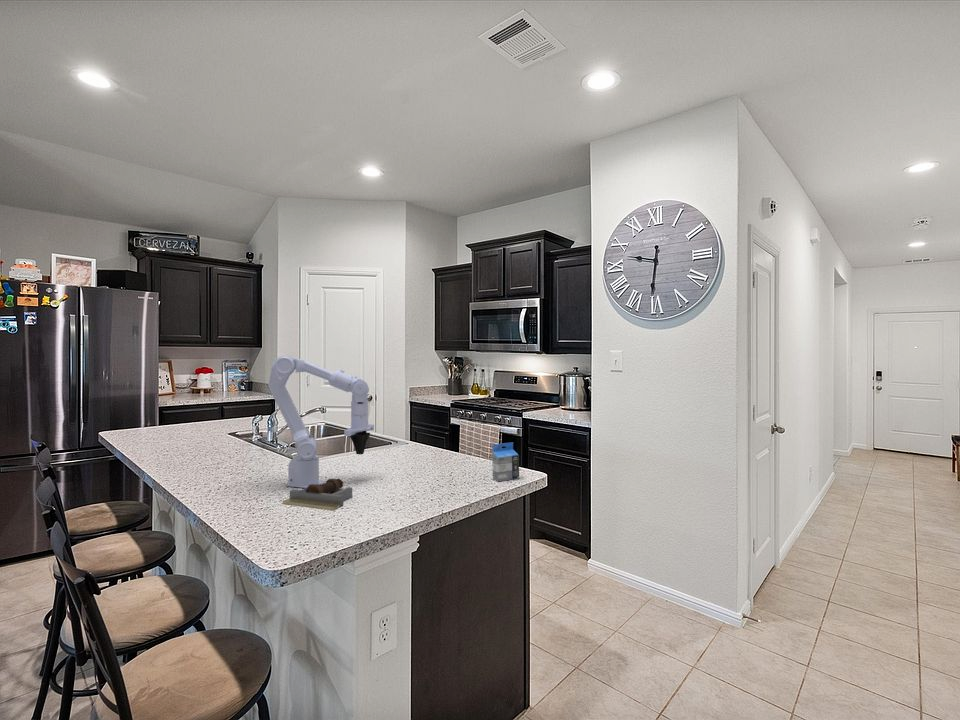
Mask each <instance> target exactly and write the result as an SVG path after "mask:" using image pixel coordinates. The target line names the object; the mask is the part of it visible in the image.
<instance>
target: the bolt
mask: <svg viewBox="0 0 960 720" xmlns="http://www.w3.org/2000/svg"><path fill="white" fill-rule="evenodd" d="M343 487H344V480H342V479H341V478H328V479H327V480H326V481H325V483H323V484H321V485H317V484H310V485H309V486H308V487H307V489H306V491H310V492H318V493H327V494H333V493H335V492H338V491H340V490H341V489H343Z"/></svg>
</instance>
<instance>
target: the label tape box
mask: <svg viewBox="0 0 960 720" xmlns="http://www.w3.org/2000/svg"><path fill="white" fill-rule="evenodd" d="M491 453H492V454H491V457H492V458H491V459H492V460H491V461H492V480H493V479H494V480H493V481H495V480H496V482H498V481H500V482H504V481H510V480H515V479H517V480H518V479H520V455H519V454H518V452H516V451H515V449H514V442H504V443H496V444H492V452H491Z"/></svg>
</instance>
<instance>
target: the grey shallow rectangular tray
mask: <svg viewBox="0 0 960 720" xmlns="http://www.w3.org/2000/svg"><path fill="white" fill-rule="evenodd" d="M317 485H322V484H317ZM306 489H307V488H303V489H302V488H301V489H291V490H289V498H287V499H283V500H282V501H281V502H282V504H283V505H289V506H298V507H299V506H300V507H305V508H313V509H321V510H329V511H335V510H338V509H340V508H342V507H344V502H345V501H347V500H349V499H352V498H353V487H349V486H347V487H345V488H341V489H339V490H338V492H335V493H328V494H327V493H318V492H310V491H306Z"/></svg>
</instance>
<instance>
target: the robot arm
mask: <svg viewBox="0 0 960 720" xmlns="http://www.w3.org/2000/svg"><path fill="white" fill-rule="evenodd" d="M294 371H295V373H297V374H298V373H307V374H310V375H313V376H316V377H318V378H321V379H324V380H327V381H328V384H329V385H330V386H331V387H333V388H335V389H337V390H341V391H343V392H346V393H351V401H350V413H351V415H350V416H351V417H350V418H351V419H350V420H351V421H350V426H351V427H349V428H346V429H344V431H343V432H344V433H343V434H344V437H349V438H350V440H351V441H352V444H353V446H354V450H355V453H356V455H364V454H365V449H366V445H367V442H368V440H369V438H370V436H371V432H369V431H374V430H375V424H369V401H368V399H369V396H368V394H369V392H370V388H369V385H368V383H367V382H366V381H364V380H363V379H361V378H358V376H357V375H354V376H353V375H350V374H348V373H346V372H345V370H343V369H340V370H338V369H336V370H333V371H330V370H328V369H326V368H324V367H321V366H318V365H317V364H315V363H312V362H310V361H308V360H305V359H301V358H298V357H297V358H296V357H292V356H291V355H280V356H278V357H276V359H275V360H274V361H273V364H272V365H271V367H270V375H269V381H268V389H269V390H270V393H271V395H272V397H273V399H274V401H275V403H276V404H277V407H278V409H279V410H280V414H281V415H282V417H283V419H284V420H285V423H286V425H287V427H288V429H289V431H290V433H291V435H292V437H293V440H294V443H295V445H296V455H297V456H296V457H293V458H292V459H291V460H290V461H289V463H288V468H287V469H288V470H287V471H288V483H287V484H286V486H287V487H293V488H301V489H302V488H303V489H305V488H307V487H308V486H309V485H310V484H321V485H322V484H325V483H326V481H324V480H320V471H319V470H320V459H319V458H320V456H319V455H318V454H317V452H318V448H319V447H318V445H319V444H318V441H317V439H316V438H315V437H313V436H312V435H311V434H310V431H309V430H308V428H307V427H306V425H305V424H304V421H303V419H302V417H301V415H300V413H299V411H298V409H297V408H296V405H295V403H294V401H293V399H292V397H291V395H290V393H289V391H288V389H287V387H286V385H287V382H288V380H289V378H290V376H291V375H292V374H293V373H294Z"/></svg>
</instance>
